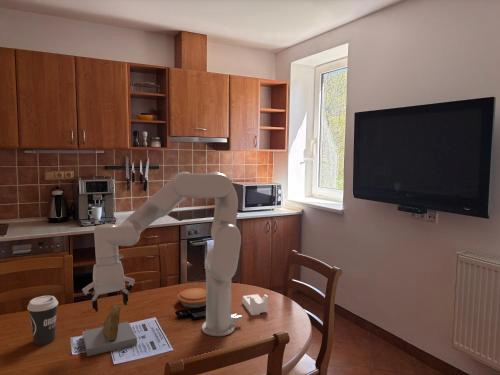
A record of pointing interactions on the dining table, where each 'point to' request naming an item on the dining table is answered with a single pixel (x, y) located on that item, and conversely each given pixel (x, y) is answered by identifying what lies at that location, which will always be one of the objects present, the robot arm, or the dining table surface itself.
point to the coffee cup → (43, 319)
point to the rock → (112, 323)
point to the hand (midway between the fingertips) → (110, 307)
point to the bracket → (256, 304)
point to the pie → (193, 297)
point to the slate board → (100, 343)
